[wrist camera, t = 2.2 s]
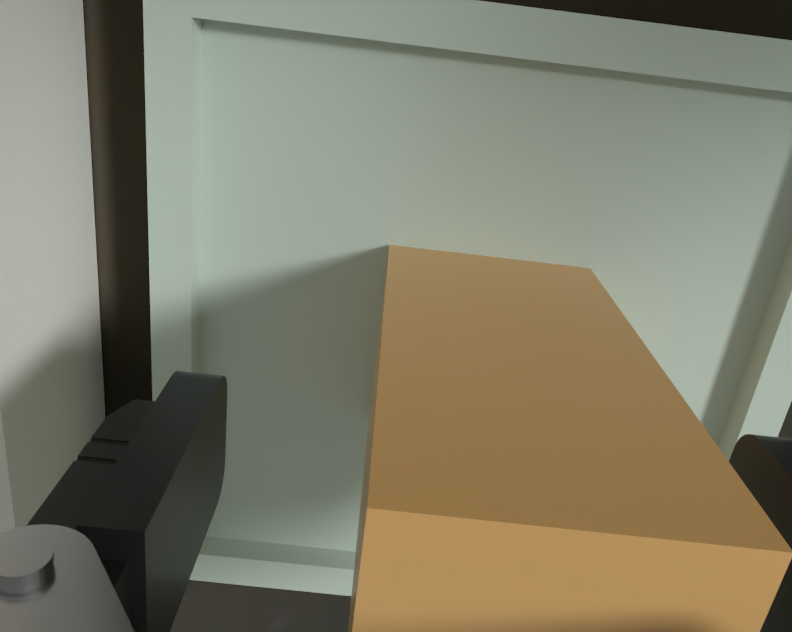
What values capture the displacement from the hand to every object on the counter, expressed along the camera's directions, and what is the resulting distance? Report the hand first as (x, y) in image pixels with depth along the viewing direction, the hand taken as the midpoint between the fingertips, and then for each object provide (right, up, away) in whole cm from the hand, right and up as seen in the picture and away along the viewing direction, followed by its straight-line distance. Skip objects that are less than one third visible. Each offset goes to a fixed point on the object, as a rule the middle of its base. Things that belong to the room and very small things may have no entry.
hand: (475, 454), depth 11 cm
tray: (0, +2, +4) cm, 5 cm away
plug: (0, +2, +4) cm, 4 cm away
